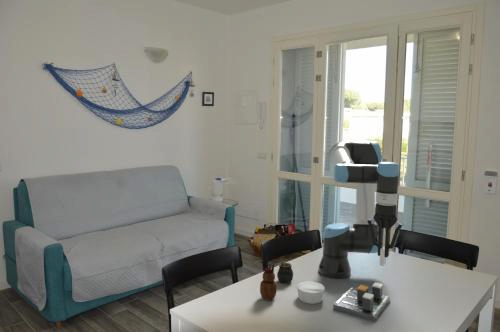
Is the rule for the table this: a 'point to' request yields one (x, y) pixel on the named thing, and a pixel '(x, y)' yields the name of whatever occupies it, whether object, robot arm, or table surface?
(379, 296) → the block
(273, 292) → the wooden figurine
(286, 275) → the mate gourd
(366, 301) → the breaker near
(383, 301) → the panel
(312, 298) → the ramekin
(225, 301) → the table surface
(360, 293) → the block
